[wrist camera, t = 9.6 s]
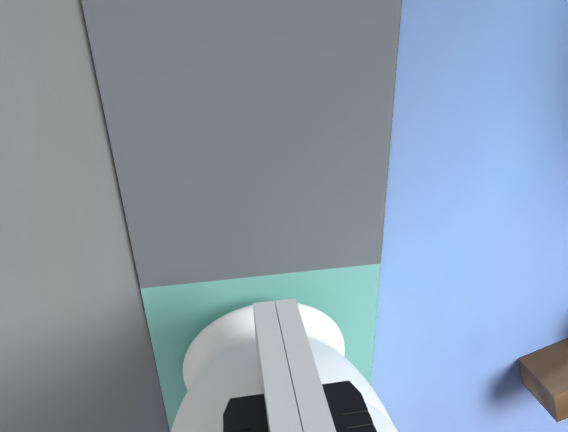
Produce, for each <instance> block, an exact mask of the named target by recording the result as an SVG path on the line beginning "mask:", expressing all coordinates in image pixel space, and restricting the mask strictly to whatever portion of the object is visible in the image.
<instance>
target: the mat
mask: <svg viewBox="0 0 568 432" xmlns="http://www.w3.org/2000/svg"><path fill="white" fill-rule="evenodd" d="M81 2H82V7H83V12H84V16H85V21H86V26H87V31H88V36H89V41H90V46H91V51H92V55H93V60H94V65H95V70H96V75H97V80H98V85H99V90H100V94H101V99H102V104H103V109H104V114H105V119H106V124H107V129H108V133H109V138H110V143H111V148H112V153H113V158H114V163H115V167H116V172H117V177H118V182H119V187H120V192H121V197H122V202H123V206H124V211H125V216H126V221H127V226H128V231H129V236H130V241H131V245H132V250H133V255H134V260H135V265H136V270H137V275H138V280H139V284H140V289H141V294H142V299H143V304H144V309H145V314H146V318H147V323H148V328H149V333H150V338H151V343H152V348H153V353H154V357H155V362H156V367H157V372H158V377H159V382H160V387H161V392H162V396H163V401H164V406H165V411H166V416H167V421H168V426H169V430H170V432H171V429H172V426H173V423H174V420H175V417H176V415H177V412H178V410H179V407H180V405H181V403H182V401H183V399H184V397H185V395H186V393H187V391H188V390H187V388H186V386H185V383H184V379H183V362H184V358H185V355H186V352H187V350H188V348H189V346H190V345H191V343H192V342H193V340H194V339H195V338H196V337H197V335H198V334H199V333H200V332H201V331H202V330H203V329H204V328H206V327H207V326H208V325H209V324H211V323H212V322H214V321H215V320H216V319H218V318H220V317H222V316H224V315H226V314H227V313H230V312H232V311H234V310H237V309H240V308H243V307H246V306H249V305H253V303H257V302H266V301H274V302H275V300H284V299H293V298H296V301H297V303H300V304H304V305H307V306H311V307H313V308H316V309H318V310H320V311H321V312H323V313H325V314H326V315H328V316H329V317H330V318H331V319H332V320H333V321H334V322H335V323H336V324H337V326H338V327H339V329H340V331H341V333H342V336H343V339H344V345H345V354H344V357H345V358H346V359H347V360H348V361H349V362H351V363H352V364H353V365H354V366H355V367H356V369H357V370H358V371H359V372H360V373H361V374H362V375H363V377H364V378H365V379H366V380H367V382H368V383H369V384H370V386H371V375H372V363H373V350H374V338H375V326H376V313H377V301H378V289H379V276H380V264H381V251H382V239H383V227H384V214H385V202H386V190H387V177H388V165H389V153H390V140H391V128H392V116H393V103H394V91H395V78H396V66H397V54H398V41H399V29H400V17H401V4H402V0H81Z"/></svg>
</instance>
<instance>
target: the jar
mask: <svg viewBox="0 0 568 432" xmlns="http://www.w3.org/2000/svg"><path fill="white" fill-rule="evenodd" d="M297 304H298V308H299V311H300V314H301V317H302V321H303V324H304V327H305V331H306V334H307V337H308V341H309V344H310V347H311V350H312V354H313V357H314V360H315V364H316V367H317V370H318V373H319V377H320V380H321V383H322V384H328V383H335V382H342V381H350V382H351V383H352V384H353V385H354V386H355V387H356V388H357V389H358V390H359V391H360V392H361V394H362V396H363V399H364V401H365V404H366V406H367V408H368V412H369V413H370V416H371V418H372V421H373V425H374V426H375V428H376V431H377V432H398V431H397V429H396V428H395V427H394V425H393V424H392V422H391V420H390V418H389V416H388V414H387V412H386V410H385V408H384V406H383V405H382V403H381V401H380V400H379V398H378V396H377V395H376V393H375V392H374V390H373V389H372V387H371V386H370V384H369V383H368V382H367V380H366V379H365V378H364V377H363V375H362V374H361V373H360V372H359V371H358V370H357V369H356V367H355V366H354V365H353V364H352V363H351V362H349V361H348V360H347V359H346V358H345V357H344V354H345V345H344V339H343V336H342V333H341V331H340V329H339V327H338V326H337V324H336V323H335V322H334V321H333V320H332V319H331V318H330V317H329V316H328V315H326V314H325V313H323V312H321V311H320V310H318V309H316V308H313V307H311V306H307V305H304V304H300V303H297ZM183 379H184V383H185V386H186V388H187V390H188V391H187V393H186V395H185V397H184V399H183V401H182V403H181V405H180V407H179V410H178V412H177V415H176V417H175V420H174V423H173V426H172V429H171V432H223V413H224V411H225V409H226V406H227V404H228V402H229V399H230V398H236V397H243V396H250V395H257V394H261V390H260V381H259V373H258V365H257V353H256V339H255V324H254V310H253V305H249V306H246V307H243V308H240V309H237V310H234V311H232V312H230V313H227V314H226V315H224V316H222V317H220V318H218V319H216V320H215V321H214V322H212V323H211V324H209V325H208V326H207V327H206V328H204V329H203V330H202V331H201V332H200V333H199V334H198V335H197V337H196V338H195V339H194V340H193V342H192V343H191V345H190V346H189V348H188V350H187V352H186V355H185V358H184V362H183Z"/></svg>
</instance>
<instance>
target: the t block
mask: <svg viewBox="0 0 568 432" xmlns="http://www.w3.org/2000/svg"><path fill="white" fill-rule="evenodd" d="M518 361H519V367H520V373H521V379H522V383H523V385H524V386H525V387H526V388H527V389H528V390H529V391H530V392H531V393H532V395H533V396H534V397H535V398H536V399H537V400H538V401H539V402H540V404H541V405H542V406H543V407H544V408H545V409H546V410H547V411H548V412H549V414H550V415H551V416H552V417H553V418H554V419H555V420H556V421H557V422H559V421H561V420H564V419H566V418H568V338H566V339H564V340H561V341H559V342H557V343H554V344H552V345H549V346H547V347H544V348H542V349H540V350H537V351H535V352H532V353H530V354H528V355H525V356H523V357H520V358H518Z"/></svg>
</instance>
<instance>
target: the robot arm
mask: <svg viewBox="0 0 568 432" xmlns="http://www.w3.org/2000/svg"><path fill="white" fill-rule="evenodd" d="M253 310H254V324H255V339H256V353H257V365H258V373H259V381H260V390H261V394H257V395H250V396H243V397H236V398H230V399H229V402H228V404H227V406H226V409H225V411H224V413H223V432H377V431H376V428H375V426H374V425H373V421H372V418H371V416H370V413H369V412H368V408H367V406H366V404H365V401H364V399H363V396H362V394H361V392H360V391H359V390H358V389H357V388H356V387H355V386H354V385H353V384H352V383H351V382H350V381H342V382H335V383H328V384H322V383H321V380H320V377H319V373H318V370H317V367H316V364H315V360H314V357H313V354H312V350H311V347H310V344H309V341H308V337H307V334H306V331H305V327H304V324H303V321H302V317H301V314H300V311H299V308H298V304H297V301H296V298H293V299H284V300H275V302H274V301H266V302H257V303H253Z"/></svg>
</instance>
